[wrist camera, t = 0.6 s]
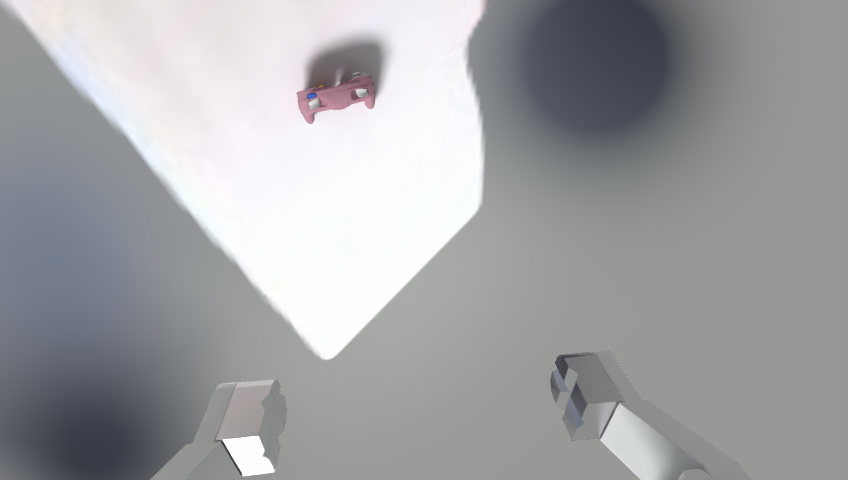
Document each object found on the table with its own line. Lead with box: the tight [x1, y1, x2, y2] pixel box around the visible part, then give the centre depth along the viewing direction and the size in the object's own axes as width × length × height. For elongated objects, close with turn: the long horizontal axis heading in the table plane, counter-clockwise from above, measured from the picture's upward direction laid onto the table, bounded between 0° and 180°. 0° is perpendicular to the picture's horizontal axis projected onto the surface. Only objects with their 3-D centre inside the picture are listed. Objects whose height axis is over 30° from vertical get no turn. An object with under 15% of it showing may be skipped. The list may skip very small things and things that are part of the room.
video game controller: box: [297, 72, 375, 124], centre depth 47 cm, size 10×5×7 cm, turn 95°
